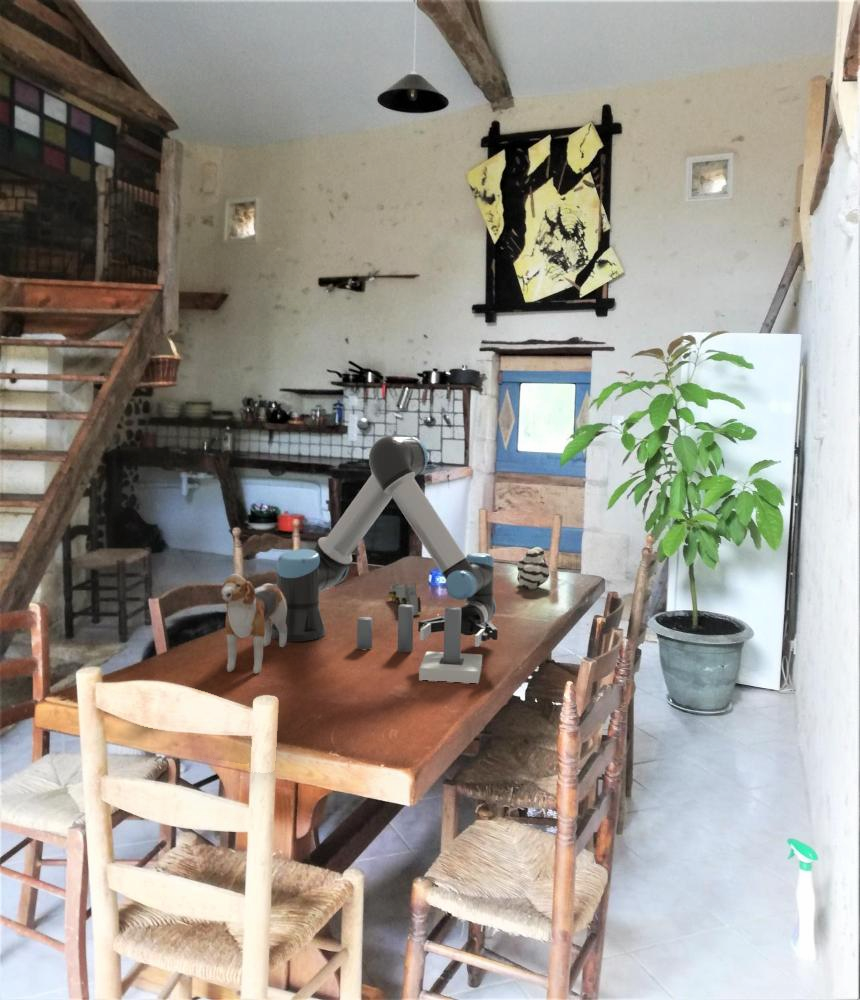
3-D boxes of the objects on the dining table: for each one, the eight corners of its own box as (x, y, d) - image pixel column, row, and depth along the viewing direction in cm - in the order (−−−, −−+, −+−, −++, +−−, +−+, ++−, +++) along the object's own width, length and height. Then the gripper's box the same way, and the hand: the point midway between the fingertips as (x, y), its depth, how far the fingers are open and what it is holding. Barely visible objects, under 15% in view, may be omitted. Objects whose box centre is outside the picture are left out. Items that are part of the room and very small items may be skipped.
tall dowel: (442, 675, 194) (444, 609, 193) (443, 670, 198) (445, 606, 197) (458, 676, 194) (460, 610, 192) (460, 671, 198) (462, 607, 196)
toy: (404, 615, 252) (404, 583, 253) (388, 612, 274) (387, 583, 275) (421, 615, 253) (421, 583, 254) (403, 612, 276) (403, 583, 277)
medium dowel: (396, 652, 213) (397, 607, 212) (398, 647, 217) (399, 604, 216) (411, 653, 212) (412, 608, 211) (413, 648, 216) (414, 604, 215)
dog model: (203, 687, 182) (203, 577, 179) (266, 639, 222) (266, 549, 219) (244, 690, 180) (244, 579, 178) (299, 641, 221) (300, 551, 218)
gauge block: (419, 680, 190) (419, 667, 190) (426, 662, 204) (426, 651, 204) (478, 684, 188) (478, 671, 188) (481, 666, 202) (482, 654, 202)
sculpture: (519, 582, 312) (520, 543, 310) (551, 584, 309) (553, 545, 307) (511, 593, 290) (513, 552, 289) (546, 596, 287) (548, 554, 286)
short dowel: (355, 649, 214) (356, 620, 213) (358, 645, 218) (359, 616, 217) (370, 650, 214) (370, 620, 213) (373, 646, 218) (373, 617, 217)
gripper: (516, 637, 209) (499, 659, 189) (425, 627, 216) (399, 648, 196) (517, 608, 208) (500, 627, 188) (425, 600, 216) (399, 617, 195)
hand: (448, 638), depth 192 cm, fingers open, 13 cm apart
